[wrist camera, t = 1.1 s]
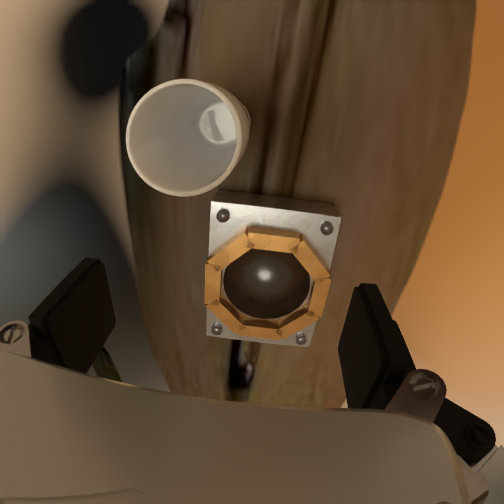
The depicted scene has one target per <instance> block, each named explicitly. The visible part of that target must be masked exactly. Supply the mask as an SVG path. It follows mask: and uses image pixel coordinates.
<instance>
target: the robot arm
mask: <svg viewBox="0 0 504 504" xmlns="http://www.w3.org/2000/svg"><path fill="white" fill-rule="evenodd" d="M28 318H29V320H30V324H29V325H27V324H26V323H25V322H22V321H11V322H9V323H6V324H5V325H3V326H2V327H1V328H0V504H504V448H503V446H502V445H501V446H500V447H499V448H498V447H497V446H496V445H495V441H496V437H495V433H494V430H493V428H492V427H491V426H490V425H489V424H488V423H487V422H485V421H484V420H482V419H480V418H479V417H477V416H475V415H474V414H472V413H470V412H468V411H467V410H465V409H463V408H462V407H460V406H458V405H457V404H455V403H453V402H452V401H450V400H448V399H447V398H445V396H446V391H447V390H446V385H445V383H444V381H443V380H442V379H441V378H440V376H439V375H437V374H436V373H434V372H432V371H429V370H426V369H416V368H415V365H414V363H413V360H412V358H411V355H410V353H409V350H408V348H407V346H406V343H405V341H404V338H403V336H402V334H401V331H400V329H399V327H398V324H397V323H396V321H394V320H392V318H391V315H390V313H389V311H388V308H387V306H386V304H385V302H384V300H383V297H382V295H381V293H380V291H379V289H378V286H377V285H376V284H367V283H361V284H360V285H359V287H355V288H354V291H353V295H352V298H351V302H350V306H349V309H348V313H347V317H346V320H345V324H344V327H343V331H342V334H341V337H340V341H339V345H338V353H339V358H340V363H341V369H342V375H343V380H344V386H345V392H346V398H347V404H348V408H314V407H294V406H277V405H263V404H252V403H242V402H233V401H224V400H216V399H209V398H202V397H195V396H189V395H182V394H176V393H171V392H165V391H159V390H154V389H150V388H144V387H140V386H135V385H130V384H126V383H122V382H117V381H113V380H109V379H105V378H101V377H97V376H93V375H90V374H87V372H88V370H89V368H90V367H91V365H92V363H93V362H94V360H95V358H96V356H97V355H98V353H99V351H100V350H101V348H102V346H103V345H104V343H105V341H106V340H107V338H108V336H109V335H110V333H111V332H112V330H113V328H114V326H115V322H116V319H115V314H114V310H113V305H112V301H111V296H110V291H109V286H108V281H107V275H106V270H105V265H104V264H103V263H101V261H100V260H99V259H95V258H85V259H84V260H82V261H81V263H79V264H78V265H77V266H76V267H75V268H74V269H73V270H72V271H71V272H70V274H68V275H67V276H66V277H65V278H64V279H63V280H62V281H61V282H60V284H59V285H58V286H57V287H56V288H55V289H54V290H53V291H52V292H51V293H50V294H49V295H48V296H47V297H46V298H45V299H44V300H43V301H42V303H41V304H40V305H39V306H38V307H37V308H36V309H35V310H34V311H33V312H32V313H31V315H30V316H29V317H28Z"/></svg>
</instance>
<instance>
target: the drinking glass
mask: <svg viewBox="0 0 504 504" xmlns="http://www.w3.org/2000/svg"><path fill="white" fill-rule="evenodd" d="M250 125H251V121H250V115H249V112H248V110H247V109H246V107H245V106H244V105H243V104H242V103H241V102H240V101H239V100H238V99H237V98H236V97H235V96H234V95H233V94H232V93H231V92H229V91H228V90H226V89H225V88H223V87H221V86H219V85H216V84H214V83H210V82H207V81H202V80H194V79H176V80H171V81H167V82H165V83H162V84H160V85H158V86H156V87H154V88H153V89H151V90H150V91H149V92H147V93H146V94H145V95H144V96H143V97H142V98H141V99H140V100H139V102H138V103H137V104H136V106H135V107H134V109H133V111H132V113H131V115H130V118H129V121H128V124H127V130H126V147H127V152H128V156H129V159H130V161H131V164H132V165H133V167H134V169H135V171H136V172H137V173H138V175H139V176H140V177H141V178H142V179H143V180H144V181H145V182H146V183H147V184H148V185H150V186H151V187H153V188H154V189H156V190H158V191H160V192H162V193H165V194H168V195H173V196H182V197H185V196H195V195H199V194H202V193H205V192H207V191H209V190H211V189H213V188H215V187H216V186H218V185H219V184H220V183H221V182H223V181H224V180H225V179H226V178H227V177H228V176H229V174H230V173H231V172H232V171H233V170H234V169H235V167H236V166H237V165H238V163H239V162H240V160H241V159H242V157H243V155H244V153H245V150H246V148H247V145H248V141H249V134H250Z"/></svg>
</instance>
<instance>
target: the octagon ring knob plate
mask: <svg viewBox="0 0 504 504" xmlns="http://www.w3.org/2000/svg"><path fill="white" fill-rule="evenodd" d="M340 221H341V216H340V214H339V212H338V210H337V209H336V207H335V205H334V204H329V203H322V202H315V201H308V200H301V199H293V198H285V197H277V196H269V195H261V194H252V193H243V192H234V191H224V190H218V192H217V193H216V195H215V196H214V198H213V200H212V201H211V215H210V236H209V257H208V259H207V262H206V267H205V304H206V307H207V333H206V335H208V336H215V337H222V338H229V339H237V340H245V341H253V342H262V343H271V344H281V345H291V346H302V347H309V346H310V342H311V339H312V335H313V332H314V328H315V325H316V321H317V320H319V317H321V316H322V313H323V309H324V306H325V302H326V298H327V294H328V290H329V287H330V283H331V275H330V271H329V270H330V266H331V262H332V258H333V253H334V249H335V244H336V240H337V235H338V231H339V226H340Z"/></svg>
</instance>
